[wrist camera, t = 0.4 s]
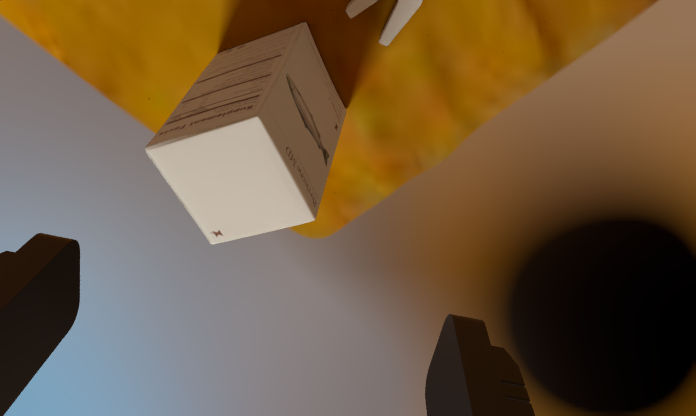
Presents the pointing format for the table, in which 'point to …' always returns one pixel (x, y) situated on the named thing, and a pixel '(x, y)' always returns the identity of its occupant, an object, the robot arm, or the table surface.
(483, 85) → the table surface
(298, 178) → the supplement box
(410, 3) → the pliers
